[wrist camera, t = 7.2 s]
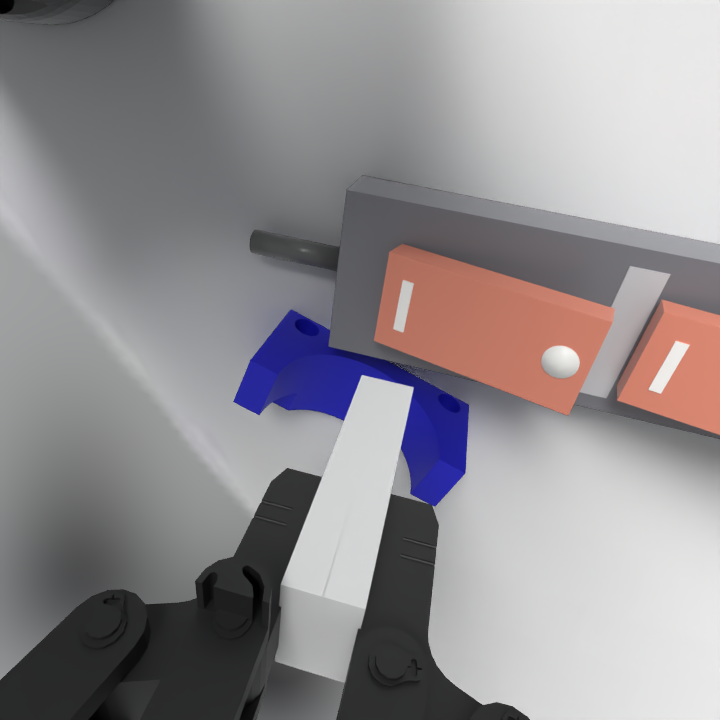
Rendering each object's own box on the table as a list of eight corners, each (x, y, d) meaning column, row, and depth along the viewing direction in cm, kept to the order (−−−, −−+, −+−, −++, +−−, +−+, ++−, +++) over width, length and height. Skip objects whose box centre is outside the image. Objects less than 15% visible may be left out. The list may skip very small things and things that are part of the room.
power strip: (261, 300, 29) (237, 325, 26) (265, 156, 24) (237, 168, 22) (829, 430, 25) (871, 475, 22) (952, 289, 21) (1023, 323, 18)
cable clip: (267, 363, 31) (225, 420, 26) (291, 308, 29) (250, 360, 24) (431, 449, 32) (421, 521, 27) (469, 403, 29) (465, 473, 24)
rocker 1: (386, 329, 24) (373, 341, 23) (402, 243, 22) (388, 252, 20) (572, 398, 21) (568, 416, 20) (614, 308, 19) (612, 323, 18)
